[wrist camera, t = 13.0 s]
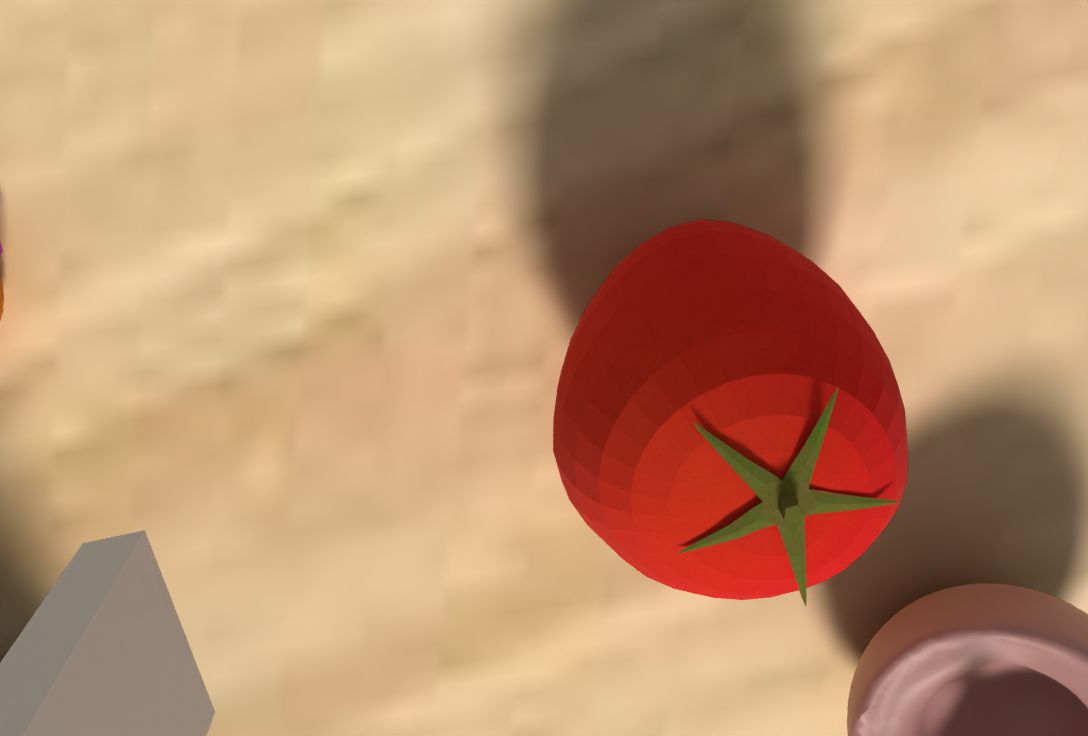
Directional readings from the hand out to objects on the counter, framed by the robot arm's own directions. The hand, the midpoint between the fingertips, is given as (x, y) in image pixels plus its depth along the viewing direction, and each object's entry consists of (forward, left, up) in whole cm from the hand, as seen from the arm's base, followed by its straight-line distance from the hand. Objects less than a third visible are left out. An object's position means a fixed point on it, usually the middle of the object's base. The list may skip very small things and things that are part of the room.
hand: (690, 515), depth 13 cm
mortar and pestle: (+14, -26, -28) cm, 40 cm away
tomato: (+4, -9, -28) cm, 30 cm away
